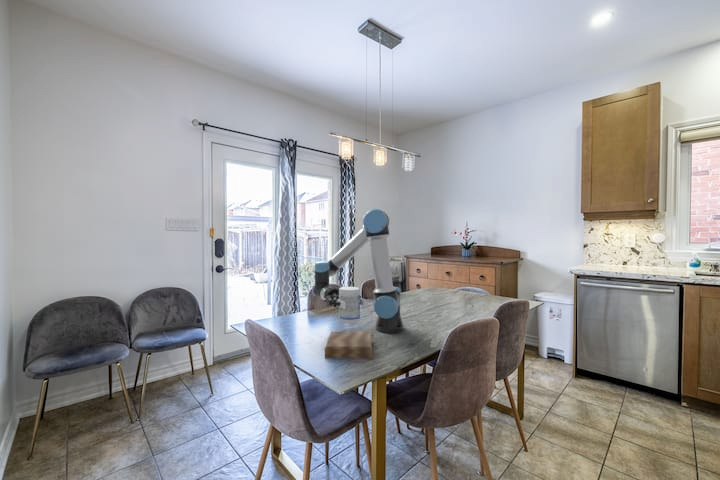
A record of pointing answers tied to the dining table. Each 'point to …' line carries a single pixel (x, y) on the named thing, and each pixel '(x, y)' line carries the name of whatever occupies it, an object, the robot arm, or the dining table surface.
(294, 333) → the dining table surface
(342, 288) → the supplement tub
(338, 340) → the wooden square block
